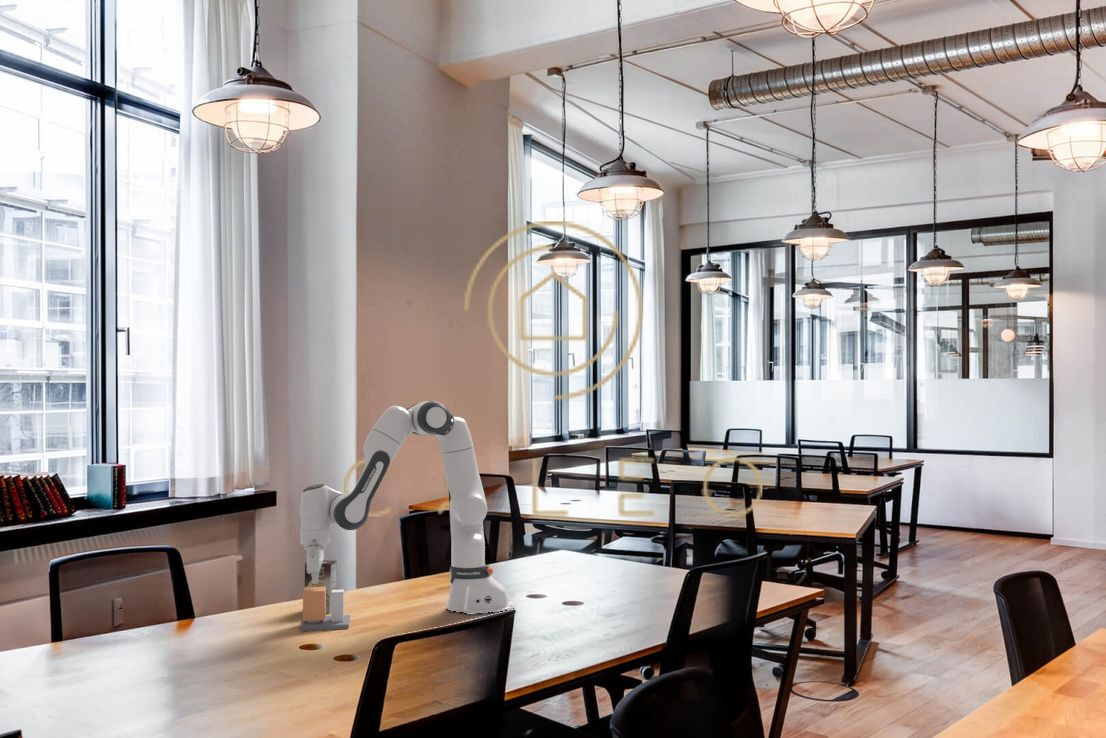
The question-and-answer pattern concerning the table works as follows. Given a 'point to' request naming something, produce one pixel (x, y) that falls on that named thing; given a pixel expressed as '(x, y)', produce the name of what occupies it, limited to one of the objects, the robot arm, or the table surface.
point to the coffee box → (324, 580)
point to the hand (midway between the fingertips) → (315, 582)
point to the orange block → (314, 603)
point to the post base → (336, 618)
